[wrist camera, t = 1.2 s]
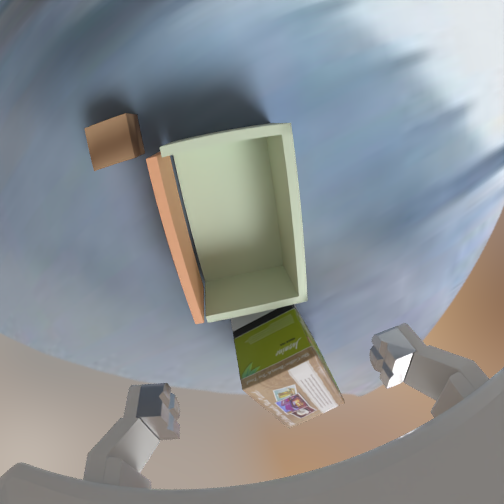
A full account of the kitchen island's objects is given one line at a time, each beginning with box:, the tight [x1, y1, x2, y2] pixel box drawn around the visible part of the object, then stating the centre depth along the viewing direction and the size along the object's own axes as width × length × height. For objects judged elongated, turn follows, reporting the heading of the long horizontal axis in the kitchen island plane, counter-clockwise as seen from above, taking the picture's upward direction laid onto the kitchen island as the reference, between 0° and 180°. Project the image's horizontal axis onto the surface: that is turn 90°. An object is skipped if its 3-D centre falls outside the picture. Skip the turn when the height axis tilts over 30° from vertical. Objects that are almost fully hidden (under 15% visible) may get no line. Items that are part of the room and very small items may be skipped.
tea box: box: [231, 304, 345, 428], centre depth 38 cm, size 15×10×15 cm, turn 28°
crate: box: [160, 123, 307, 323], centre depth 31 cm, size 20×12×8 cm, turn 9°
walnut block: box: [85, 113, 145, 171], centre depth 26 cm, size 5×5×5 cm
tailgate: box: [146, 152, 204, 324], centre depth 29 cm, size 19×1×8 cm, turn 9°
